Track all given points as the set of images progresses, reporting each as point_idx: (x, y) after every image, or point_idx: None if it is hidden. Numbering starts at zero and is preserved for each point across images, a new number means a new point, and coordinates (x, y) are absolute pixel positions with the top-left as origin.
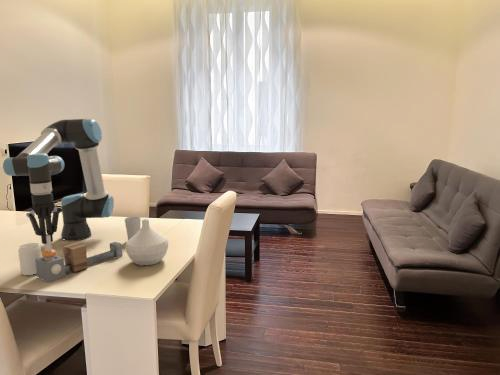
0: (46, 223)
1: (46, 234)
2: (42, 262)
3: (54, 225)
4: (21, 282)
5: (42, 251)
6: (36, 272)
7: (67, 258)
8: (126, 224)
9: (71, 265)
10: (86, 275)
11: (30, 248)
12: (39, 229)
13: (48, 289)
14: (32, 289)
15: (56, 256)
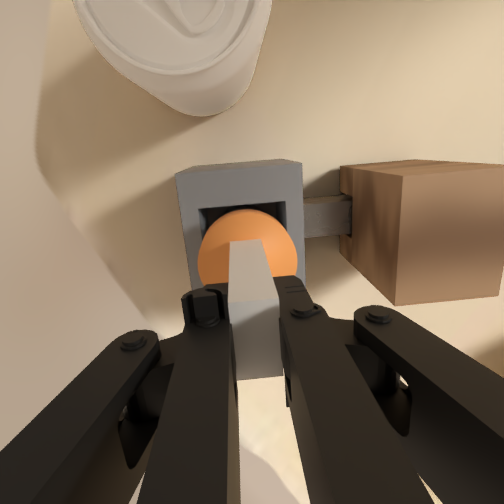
0: (315, 473)
1: (270, 307)
2: (190, 271)
3: (412, 463)
4: (113, 165)
5: (214, 228)
6: (203, 115)
7: (363, 208)
8: None
9: (351, 232)
10: (350, 317)
11: (155, 73)
12: (127, 490)
13: None
14: (129, 293)
15: (295, 242)
